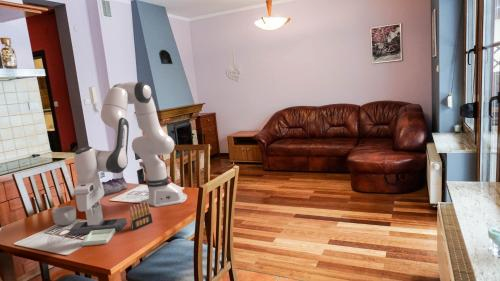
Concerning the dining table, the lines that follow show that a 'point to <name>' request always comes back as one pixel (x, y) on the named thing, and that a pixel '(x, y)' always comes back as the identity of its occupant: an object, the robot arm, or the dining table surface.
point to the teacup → (64, 215)
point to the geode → (114, 185)
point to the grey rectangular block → (95, 215)
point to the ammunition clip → (140, 216)
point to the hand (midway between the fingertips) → (94, 212)
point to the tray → (98, 237)
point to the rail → (98, 226)
